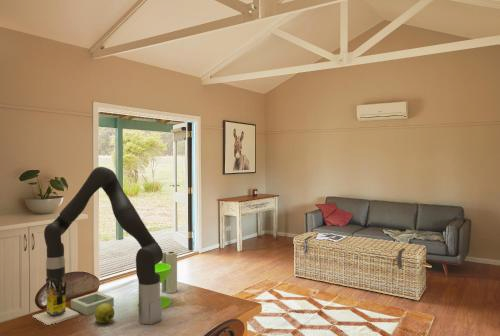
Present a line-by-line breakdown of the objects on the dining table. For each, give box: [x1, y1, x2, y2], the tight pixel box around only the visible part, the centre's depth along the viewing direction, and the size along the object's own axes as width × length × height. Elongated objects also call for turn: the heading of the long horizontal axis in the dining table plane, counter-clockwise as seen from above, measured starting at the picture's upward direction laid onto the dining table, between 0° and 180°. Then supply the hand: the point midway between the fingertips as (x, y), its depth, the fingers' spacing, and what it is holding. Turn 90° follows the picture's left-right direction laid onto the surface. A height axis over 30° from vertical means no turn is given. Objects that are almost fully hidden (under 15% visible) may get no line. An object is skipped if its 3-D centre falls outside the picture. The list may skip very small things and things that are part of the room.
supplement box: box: [46, 288, 67, 316], centre depth 171 cm, size 6×6×11 cm
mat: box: [32, 306, 80, 326], centre depth 171 cm, size 14×14×1 cm
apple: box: [94, 303, 115, 324], centre depth 165 cm, size 8×9×8 cm
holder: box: [70, 291, 115, 316], centre depth 182 cm, size 14×14×4 cm
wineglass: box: [137, 262, 172, 310], centre depth 186 cm, size 16×16×18 cm
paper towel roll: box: [161, 250, 178, 294], centre depth 203 cm, size 7×6×21 cm
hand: (56, 302), depth 171 cm, fingers closed on supplement box, 6 cm apart
